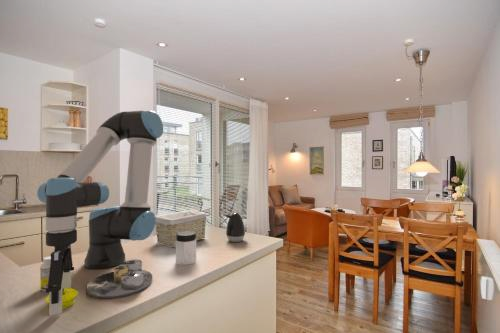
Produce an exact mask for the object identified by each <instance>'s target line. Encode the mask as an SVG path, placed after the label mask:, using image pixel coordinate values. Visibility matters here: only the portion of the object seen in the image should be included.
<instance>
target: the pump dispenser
mask: <svg viewBox="0 0 500 333" xmlns="http://www.w3.org/2000/svg"><path fill="white" fill-rule="evenodd" d="M225 217H226V218H228V221H227V224H226V229H225V230H226V231H225V234H226V237H227V238H226V239H228V241H230V242H232V243H239V242H242V241H243V239H245V235H246V229H245V224H244V221H243V218H242V216H241V214H240V213H238V212H233V213H232V214H231V215H229V214H226V215H225Z"/></svg>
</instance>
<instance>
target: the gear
mask: <svg viewBox="0 0 500 333" xmlns="http://www.w3.org/2000/svg"><path fill="white" fill-rule="evenodd" d="M77 295H79V290H77V289H75V288H72V287H71V288H65V289H64V288H63V290H62V308H63V309H66V308H69V307H70V305H71V304H72V305H73V304H75V301H76V300H75V297H76V296H77ZM44 301H45V302H46V303H48V304H49V295H47V296H46V297H45V299H44ZM72 305H71V306H72ZM68 306H69V307H68ZM65 307H66V308H65Z"/></svg>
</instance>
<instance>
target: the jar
mask: <svg viewBox="0 0 500 333" xmlns="http://www.w3.org/2000/svg"><path fill="white" fill-rule="evenodd" d="M196 261H197V241H196V232H194V231H182V232H178V233H177V234H176V247H175V264H177V265H183V266H185V265H186V266H187V265H191V264H195V263H196Z"/></svg>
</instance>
